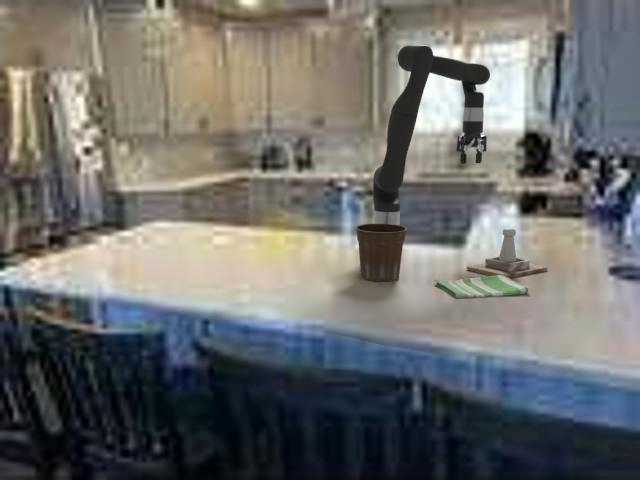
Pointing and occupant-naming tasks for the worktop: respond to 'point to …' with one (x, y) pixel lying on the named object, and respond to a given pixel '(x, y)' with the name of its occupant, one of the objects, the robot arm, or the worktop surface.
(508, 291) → the dish towel
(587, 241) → the worktop surface
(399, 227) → the plant pot
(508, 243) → the salt shaker
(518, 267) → the caddy board
